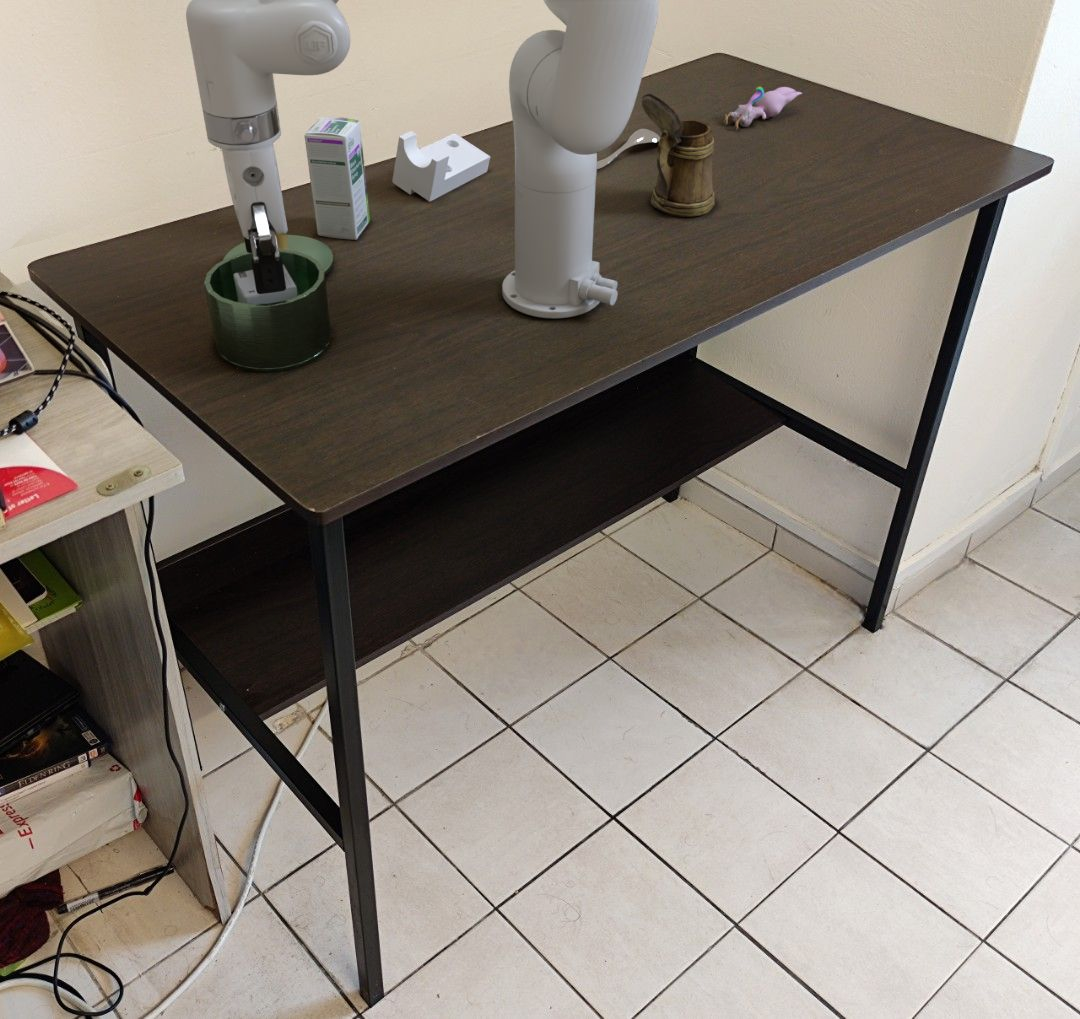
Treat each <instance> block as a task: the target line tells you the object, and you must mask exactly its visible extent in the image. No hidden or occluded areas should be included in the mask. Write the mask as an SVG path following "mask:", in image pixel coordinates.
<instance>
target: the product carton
mask: <svg viewBox="0 0 1080 1019" xmlns="http://www.w3.org/2000/svg"><path fill="white" fill-rule="evenodd" d="M283 270H284V276H285V283H286V290H284V291H280V292H273V293H266V294H258V293H257V291H256V286H255V280H254V274H253V270H249V271H244V272H239V273H235V274H234V281H235V286H236V292H237V298H238V302H240V303H248V304H268V303H274V302H279V301H285V300H288V299H291V298H293V297H296V296H298V295H297V288H296V285H295V284H294V282H293V280H292V278H291V277H290V275H289V273H288V271H287V270H286V268H285V266H284V265H283Z"/></svg>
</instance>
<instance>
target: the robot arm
mask: <svg viewBox="0 0 1080 1019" xmlns="http://www.w3.org/2000/svg"><path fill="white" fill-rule="evenodd" d="M338 2H339V0H191V1H190V2H189V3H188V5H187V7H186V11H185V19H186V20H185V21H186V27H187V31H188V37H189V43H190V49H191V54H192V59H193V65H194V71H195V76H196V82H197V86H198V94H199V98H200V104H201V109H202V114H203V115H202V116H203V120H204V124H205V125H204V126H205V131H206V137H207V141H208V142H209V144H210V145H212V146H214V147H215V148H219V149H220V150H221V154H222V159H223V164H224V170H225V175H226V176H225V177H226V180H227V184H228V185H227V186H228V189H229V194H230V198H231V202H232V205H233V208H234V211H235V212H234V213H235V215H236V219H237V222H238V225H239V227H240V231H241V234H242V237H243V240H244V242H245V246H246V251H247V252H248V253H252V254H253V259H251V262H252V268H253V274H254V280H255V286H256V291H257V293H258V294H266V293H273V292H280V291H284V290H286V283H285V276H284V270H283V263H282V257H281V256H280V255H279V250H278V244H277V239H276V232H277V234H283V235H285V234H287V233H288V232H289V229H288V223H287V217H286V212H285V205H284V198H283V192H282V185H281V180H280V173H279V167H278V161H277V156H276V151H275V147H274V143H275V142H276V141H278V139H280V137H281V135H282V128H281V122H280V115H279V114H280V113H279V109H278V108H279V106H278V100H277V93H276V86H275V80H274V74H275V75H290V76H291V75H292V76H319V75H323V74H327V73H330V72H331V71H334V70H335V69H336V68H338V67H339V66H340V65H341V64H342V63H343V62H345V59H346V57H347V56H348V53H349V51H350V47H351V32H350V29H349V25H348V22H347V20H346V18H345V16H344V14H343V13H342V11H341V10H340V8H339V7H338V6H337V3H338ZM659 2H660V1H659V0H543V3H544V4H545V5H546V7H547V8H548V10H549V11H550V12H551V13H552V14H553V15H554V16H555V17H556V18H557V19H559V21H560V22H562V23H563V24H564V25H565V26H566V27H565V31H564V30H560V29H546V30H541V31H538V32H536V33H534V34H532V35H531V36H529V37H527V38H526V39H525V40H524V41H523V42H522V43H521V44H520V46H519V47H518V49H517V50H516V52H515V54H514V56H513V58H512V61H511V64H510V69H509V77H508V91H509V93H508V94H509V103H510V110H511V119H512V125H513V127H512V128H513V140H514V270H513V271H511V272H510V273H508V274H507V275H506V276H505V278H504V279H503V281H502V284H501V294H502V298H503V300H504V301H505V302H506V304H507V305H509V306H510V307H511V308H512V309H514V310H515V311H517V312H520V313H521V314H525V315H527V316H532V317H535V318H542V319H566V318H572V317H577V316H580V315H583V314H585V313H587V312H590V311H592V310H593V309H595V308H596V307H597V306H598V305H599V304H600V303H602V304H605V305H608V306H614V305H615V304H616V302H617V300H618V295H619V294H618V290H617V289H618V284H619V283H618V281H617V280H613V279H611V278H605V277H602V275H601V274H600V265H601V264H600V261H599V262H598V261H596V260H593V245H594V244H593V242H594V225H595V224H594V223H595V207H596V206H595V204H596V182H597V171H598V170H597V161H598V154H599V153H601V152H603V151H604V150H606V149H607V148H609V147H610V146H612V145H613V144H614V143H615V142H616V141H617V139H618V138H619V137H620V136H621V135H622V133H623V131H624V130H625V128H626V126H627V125H628V123H629V120H630V118H631V115H632V112H633V110H634V107H635V103H636V100H637V97H638V94H639V90H640V86H641V83H642V79H643V76H644V72H645V68H646V65H647V61H648V58H649V53H650V51H651V46H652V43H653V39H654V36H655V31H656V27H657V22H658V18H659V4H660V3H659ZM275 231H276V232H275Z"/></svg>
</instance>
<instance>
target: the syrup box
mask: <svg viewBox="0 0 1080 1019" xmlns="http://www.w3.org/2000/svg"><path fill="white" fill-rule="evenodd" d="M303 135H304V142H305V151H306V157H307V165H308V166H307V167H308V173H309V180H310V190H311V196H312V202H313V203H312V204H313V211H314V218H315V227H316V233H317V235H318V236H321V237H327V238H332V239H333V238H334V239H341V240H343V239H344V240H355V241H358V239H359V237H360V235H362V233H363V231H365V229H366V227H367V226H368V225H369V223H370V222H371V216H370V206H369V197H368V186H367V178H366V177H367V176H366V166H365V158H364V148H363V139H362V138H363V137H362V129H361V121H359V120H357V119H353V118H347V117H339V116H338V117H336V116H319V118H318V119H317V121H316V122H315V123H314V124H313V125H312V126H310V128H309V129H308V130H307V131H306V132H305V133H304V134H303Z"/></svg>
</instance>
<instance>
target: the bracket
mask: <svg viewBox="0 0 1080 1019" xmlns="http://www.w3.org/2000/svg"><path fill="white" fill-rule="evenodd" d="M396 147H397V148H396V154H395V161H394V166H393V173H392V182H391V183H392V184H394V185H396V187H398V188H400V189H401V190H403V191H404V192H405V193H407V194H409V195H410V196H411V195H412V194H414V193H416V194H418V195H419V196H421V197H422V198H423V199H425V200H426V201H428V202H429V203H430V202H432V201H434V200H436V199H438V198H440V197H442V196H444V195H445V194H447V193H449V192H451V191H453V190H455V189H457V188H459V187H461V186H463V185H464V184H467V183H469V182H471V181H472V180H474V179H476V178H478V177H480V176H482V175H483V174H485V173H487V172H488V170H489V167H490V166H489V165H490V161H491V156H490V155H489V154H488V153H486V152H484V151H483V150H482V149H480V148H478V147H476V146H475V145H474V144H472V143H470V142H469V141H467V140H466V139H465V138H463V137H461V136H460V135H458V134H457V133H455V132H454V133H451V134H449V135H447V136H445V137H443V138H441V139H438V140H437V141H434V142H432V143H430V144H428V145H426V146H424V147H421V148H419V145H418V141H417V133H416V132H414V131H413V130H410V131H408V132H405V133H404V134H402V135H399V136H398V141H397V146H396Z"/></svg>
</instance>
